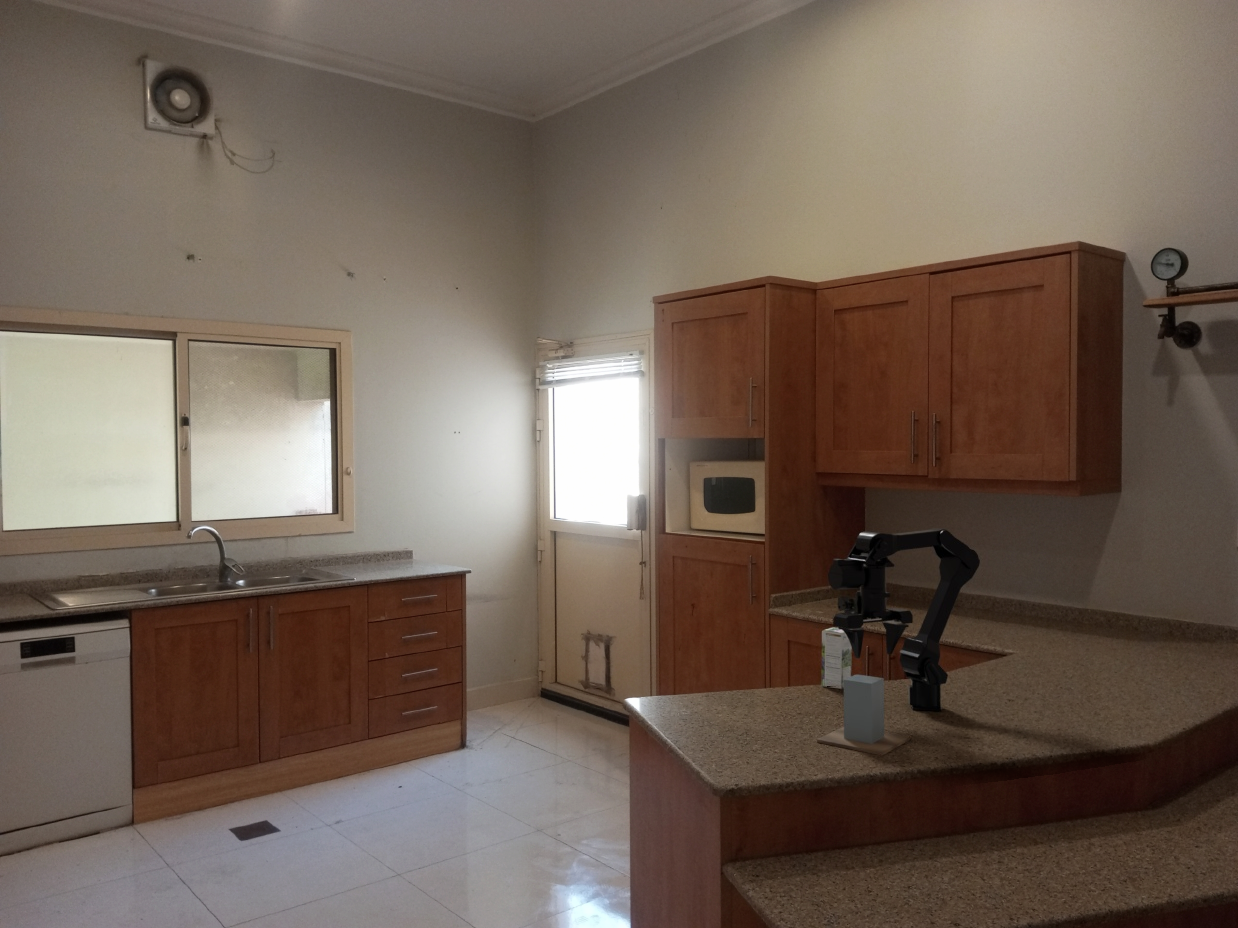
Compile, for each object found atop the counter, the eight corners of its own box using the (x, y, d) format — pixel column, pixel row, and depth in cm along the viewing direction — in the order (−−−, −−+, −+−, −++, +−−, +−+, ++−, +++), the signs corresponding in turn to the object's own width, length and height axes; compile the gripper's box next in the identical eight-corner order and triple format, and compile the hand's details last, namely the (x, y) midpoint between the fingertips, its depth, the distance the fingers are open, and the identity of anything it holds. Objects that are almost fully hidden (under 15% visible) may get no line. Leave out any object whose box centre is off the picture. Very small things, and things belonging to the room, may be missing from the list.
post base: (847, 727, 198) (847, 703, 198) (911, 738, 189) (910, 714, 190) (816, 742, 188) (816, 716, 188) (882, 755, 179) (882, 728, 179)
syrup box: (831, 682, 241) (830, 626, 241) (852, 685, 237) (852, 628, 237) (821, 686, 236) (820, 629, 236) (842, 689, 232) (842, 631, 233)
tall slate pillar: (856, 731, 193) (856, 674, 193) (884, 736, 189) (883, 678, 189) (844, 738, 188) (843, 679, 188) (871, 743, 184) (871, 683, 184)
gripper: (880, 581, 221) (881, 646, 221) (817, 585, 213) (818, 653, 213) (914, 586, 211) (914, 654, 211) (849, 591, 203) (849, 662, 203)
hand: (873, 656), depth 209 cm, fingers open, 9 cm apart
